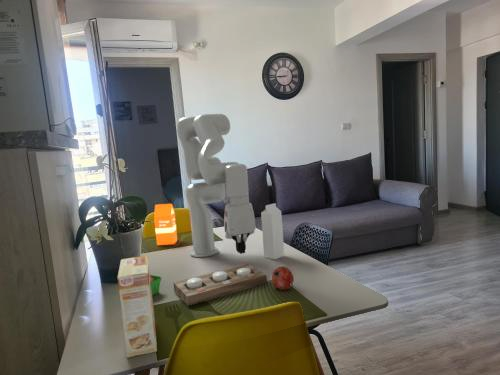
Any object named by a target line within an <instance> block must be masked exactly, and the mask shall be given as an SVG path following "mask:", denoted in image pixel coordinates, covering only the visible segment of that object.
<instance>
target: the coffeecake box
mask: <svg viewBox="0 0 500 375" xmlns="http://www.w3.org/2000/svg"><path fill="white" fill-rule="evenodd" d="M149 266H150V265H149V258H148V255H141V256H135V257H134V256H133V257H128V258H122V259H120V263H119V269H118V273H117V284H118V292H119V299H120V307H121V316H122V324H123V325H122V326H123V334H124V341H125V350H126V358H132V357H137V356H141V355H146V354H152V353H156V352H157V351H158V349H157V348H158V347H157V344H158V343H157V332H156V320H155V318H156V317H155V310H154V302H153V295H152V291H151V281H150V275H151V274H150V267H149Z"/></svg>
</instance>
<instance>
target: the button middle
mask: <svg viewBox="0 0 500 375" xmlns="http://www.w3.org/2000/svg"><path fill="white" fill-rule="evenodd" d="M214 272H215V273H213V282H214V283H218V282H222V281H226V280H227V273H226V272H223V271H221V272H216V271H214Z"/></svg>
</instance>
